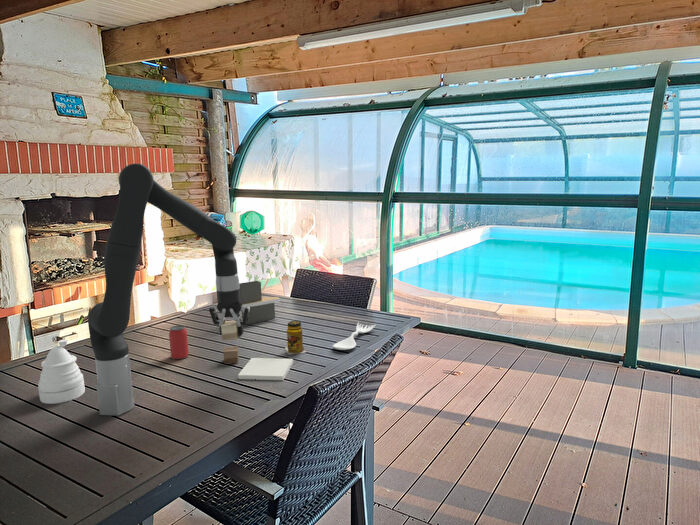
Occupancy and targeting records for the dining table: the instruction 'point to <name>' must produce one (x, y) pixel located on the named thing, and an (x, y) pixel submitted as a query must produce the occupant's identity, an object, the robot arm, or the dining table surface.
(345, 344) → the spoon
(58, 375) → the honey pot
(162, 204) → the robot arm
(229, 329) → the birch cube
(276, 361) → the stone board
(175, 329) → the beer can
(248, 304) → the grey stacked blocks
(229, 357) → the walnut cube
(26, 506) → the dining table surface
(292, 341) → the condiment
